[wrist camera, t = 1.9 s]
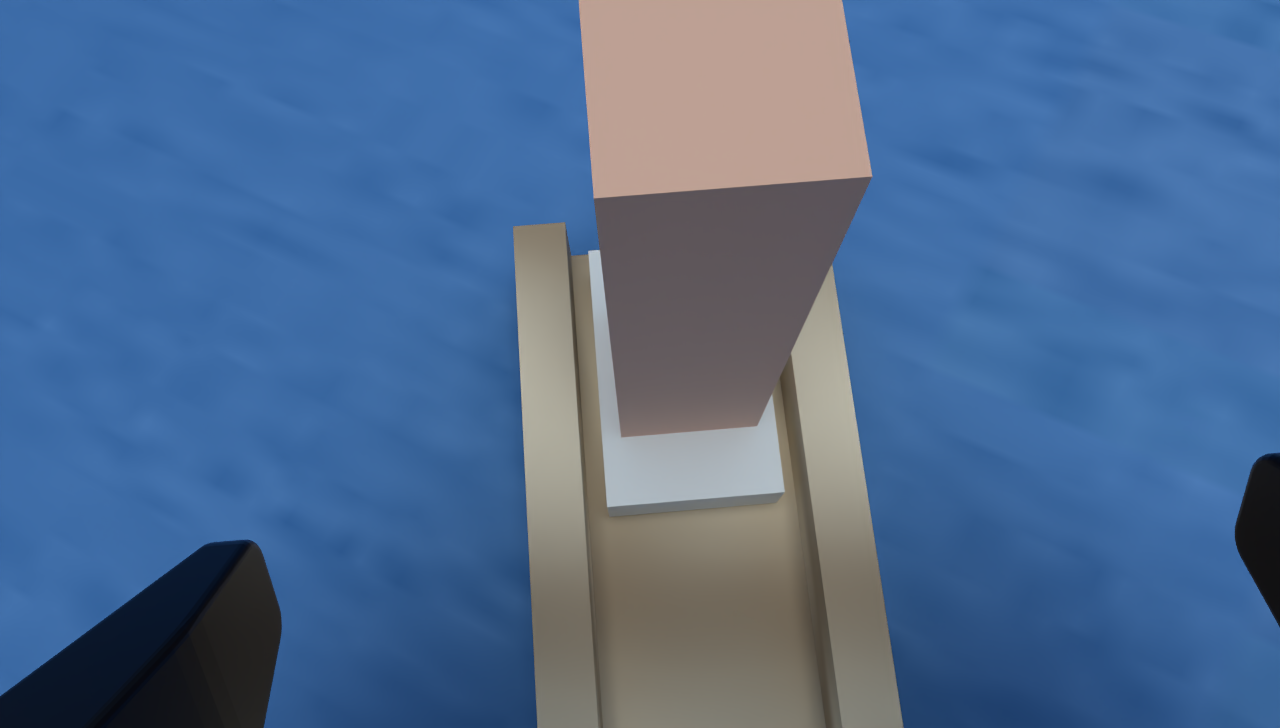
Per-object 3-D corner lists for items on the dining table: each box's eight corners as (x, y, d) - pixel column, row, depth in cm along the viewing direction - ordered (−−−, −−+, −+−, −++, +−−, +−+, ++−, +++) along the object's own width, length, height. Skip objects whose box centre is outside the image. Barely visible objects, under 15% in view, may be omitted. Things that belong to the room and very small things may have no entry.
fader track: (928, 1113, 17) (987, 1206, 14) (569, 1147, 17) (554, 1247, 14) (805, 259, 21) (829, 196, 19) (525, 281, 21) (506, 222, 18)
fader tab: (776, 502, 19) (935, 303, 8) (609, 517, 18) (563, 334, 8) (746, 262, 20) (849, -159, 10) (591, 274, 20) (533, -136, 10)
